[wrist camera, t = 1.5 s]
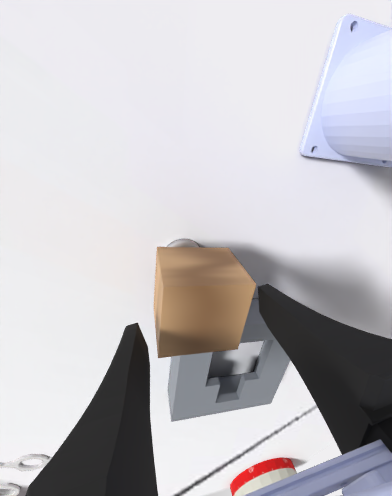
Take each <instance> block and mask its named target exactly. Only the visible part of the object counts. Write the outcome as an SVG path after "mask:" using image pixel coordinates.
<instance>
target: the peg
mask: <svg viewBox="0 0 392 496" xmlns="http://www.w3.org/2000/svg"><path fill="white" fill-rule="evenodd" d="M255 287H256V283H255V282H254V280H253V279H252V278H251V277H250V275H249V274H248V273H247V271H246V270H245V269H244V268H243V266H242V265H241V264H240V262H239V261H238V260H237V259H236V257H235V256H234V255H233V253H232V252H231V251H230V249H229V248H200V247H199V245H198V244H197V243H196V242H194V241H192V240H189V239H179V240H176V241H173V242H172V243H170V244H169V245H168V246H167V247H157V255H156V273H155V292H154V316H155V328H156V339H157V351H158V358H163V357H172V356H181V355H190V354H199V353H208V352H217V351H226V350H235V349H238V346H239V343H240V339H241V336H242V332H243V329H244V325H245V322H246V318H247V315H248V312H249V308H250V305H251V301H252V298H253V294H254V291H255Z"/></svg>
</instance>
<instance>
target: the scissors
mask: <svg viewBox="0 0 392 496" xmlns="http://www.w3.org/2000/svg"><path fill="white" fill-rule="evenodd" d="M29 459H39V460H42V461H43V462H42V463H40V464H37V465H32V466H29V465H21V464H20V462H21V461H24V460H29ZM51 459H52V457H49V458H48V457H47V456H45V455H42V454H30V455H26V456H22V457H20V458H17V459H16V460H14V461H10V462H7V463H0V468H15V469H18V470H19V471H31V470H35V469H38V468H41V467H43V466H45V465H46V464H47V463H48V462H49V461H50V460H51ZM0 489H11V490H8V491H0V496H16V495H17V494H18V493H19V492H20V489H21V486H17V485H15V484H11V483H3V482H0Z"/></svg>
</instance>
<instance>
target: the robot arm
mask: <svg viewBox="0 0 392 496" xmlns="http://www.w3.org/2000/svg"><path fill="white" fill-rule="evenodd" d="M351 24H352V26H353V29H352V32H351V29H350V27H351ZM312 147H314V151H313V152H311V149H312ZM300 153H301V155H303V156H309V157H317V158H324V159H331V160H339V161H346V162H353V163H361V164H368V165H375V166H383V167H390V168H391V167H392V28H390V27H387V26H384V25H381V24H378V23H376V22H373V21H370V20H367V19H364V18H361V17H358V16H355V15H352V14H346V15H345V16H343V17H341V18H340V19H339V21H338V23H337V25H336V29H335V32H334V35H333V39H332V42H331V46H330V49H329V52H328V56H327V59H326V62H325V66H324V69H323V73H322V76H321V79H320V83H319V86H318V89H317V93H316V96H315V100H314V103H313V106H312V110H311V113H310V116H309V120H308V123H307V127H306V130H305V133H304V137H303V140H302V144H301V147H300ZM258 295H259V312H260V314H261V316H262V318H263V320H264V322H265V324H266V325H267V327H268V329H269V330H270V331H271V333H272V334H273V336H274V337H275V339H276V340H277V341H278V343H279V344H280V346H281V347H282V348H283V350H284V351H285V353H286V354H287V355H288V357H289V358H290V360H291V361H292V363H293V364H294V366H295V367H296V369H297V371H298V372H299V374H300V376H301V378H302V379H303V381H304V383H305V385H306V386H307V388H308V390H309V392H310V394H311V395H312V397H313V399H314V401H315V403H316V404H317V406H318V408H319V410H320V412H321V414H322V416H323V418H324V420H325V421H326V423H327V425H328V427H329V429H330V431H331V433H332V435H333V437H334V439H335V441H336V443H337V445H338V447H339V449H340V451H341V453H342V455H341V456H338V457H336V458H333V459H331V460H329V461H326V462H324V463H321V464H319V465H316V466H314V467H312V468H309V469H307V470H304V471H302V472H299V473H297V474H294V475H292V476H290V477H287V478H285V479H282V480H280V481H277V482H275V483H273V484H270V485H268V486H265V487H263V488H260V489H258V490H256V491H253V492H251V493H248V494H246V495H243V496H325V495H327V494H329V493H332V492H334V491H336V490H339V489H341V488H343V487H344V488H343V489H342V494H343V496H392V339H388V338H384V337H381V336H378V335H374V334H371V333H368V332H365V331H362V330H359V329H356V328H353V327H350V326H348V325H345V324H342V323H340V322H337V321H335V320H333V319H330V318H328V317H326V316H324V315H321V314H319V313H317V312H315V311H313V310H311V309H309V308H307V307H306V306H304V305H302V304H300V303H298V302H297V301H295V300H293V299H291V298H290V297H288V296H286V295H285V294H283V293H282V292H280V291H278V290H277V289H275V288H273V287H272V286H270V285H269V284H266V285H262V286H259V287H258ZM26 496H158V491H157V483H156V474H155V465H154V455H153V445H152V434H151V423H150V362H149V353H148V346H147V344H146V342H145V339H144V337H143V334H142V332H141V330H140V327H139V325H138V323H135V324H131V325H128V326H126V328H125V330H124V333H123V336H122V338H121V341H120V344H119V346H118V349H117V351H116V353H115V356H114V358H113V360H112V362H111V365H110V367H109V369H108V371H107V373H106V375H105V377H104V379H103V381H102V383H101V385H100V387H99V388H98V390H97V392H96V394H95V396H94V397H93V399H92V401H91V402H90V404H89V406H88V407H87V409H86V410H85V412H84V414H83V415H82V417H81V418H80V420H79V421H78V423H77V424H76V426H75V427H74V429H73V430H72V431H71V433H70V434H69V436H68V437H67V438H66V440H65V441H64V443H63V444H62V445H61V447H60V448H59V449H58V451H57V452H56V453H55V455H54V456H53V457H52V459H51V460H50V461H49V462H48V463H47V465H46V466H45V467H44V468H43V470H42V471H41V472H40V473H39V475H38V476H37V477H36V478H35V480H34V481H33V482H32V483H31V484H30V485H29V487H28V490H27V493H26Z"/></svg>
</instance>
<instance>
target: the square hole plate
mask: <svg viewBox="0 0 392 496" xmlns="http://www.w3.org/2000/svg"><path fill="white" fill-rule="evenodd" d="M255 341H264V343H263V345H262V348H261V351H260V354H259V357H258V360H257V362H256V365H255V368H254V371H253V372H251V373H244V374H241V375H233V376H226V377H219V378H218V377H216V378H209V379H207V377H208V372H209V368H210V363H211V359H212V354H213V352H208V353H199V354H190V355H181V356H172V357H171V365H170V374H169V383H168V396H169V405H170V414H171V422H173V421H178V420H183V419H189V418H194V417H200V416H205V415H211V414H216V413H222V412H227V411H232V410H238V409H243V408H249V407H254V406H260V405H265V404H271V402H272V400H273V398H274V395H275V393H276V391H277V389H278V386H279V384H280V382H281V380H282V377H283V375H284V373H285V371H286V368H287V366H288V364H289V362H290V358H289V357H288V355H287V354H286V353H285V351H284V350H283V348H282V347H281V346H280V344H279V343H278V341H277V340H276V339H275V337H274V336H273V334H272V333H271V331H270V330H269V329H268V327H267V325H266V324H265V322H264V320H263V318H262V316H261V314H260V312H259V299H252V301H251V305H250V308H249V312H248V315H247V318H246V322H245V325H244V329H243V332H242V336H241V339H240V343H245V342H255Z"/></svg>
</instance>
